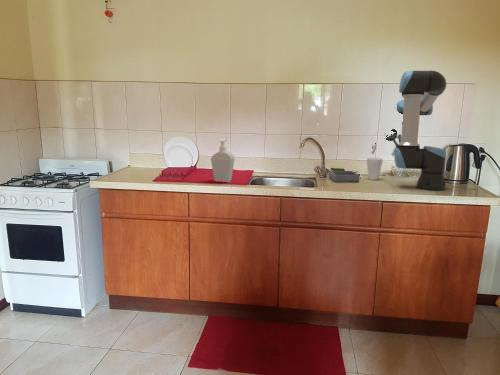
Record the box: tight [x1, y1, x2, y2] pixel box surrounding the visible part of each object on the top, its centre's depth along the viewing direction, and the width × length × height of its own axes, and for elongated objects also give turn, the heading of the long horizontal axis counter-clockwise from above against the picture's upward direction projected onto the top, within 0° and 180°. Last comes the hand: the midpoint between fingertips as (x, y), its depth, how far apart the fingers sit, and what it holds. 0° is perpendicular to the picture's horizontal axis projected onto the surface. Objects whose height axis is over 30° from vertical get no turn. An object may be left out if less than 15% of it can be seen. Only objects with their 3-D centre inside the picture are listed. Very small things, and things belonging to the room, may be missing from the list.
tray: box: [328, 170, 360, 183], centre depth 237 cm, size 15×15×4 cm
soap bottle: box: [210, 138, 235, 183], centre depth 228 cm, size 12×10×26 cm
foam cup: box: [366, 157, 383, 181], centre depth 240 cm, size 10×9×13 cm
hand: (382, 154), depth 246 cm, fingers open, 13 cm apart
